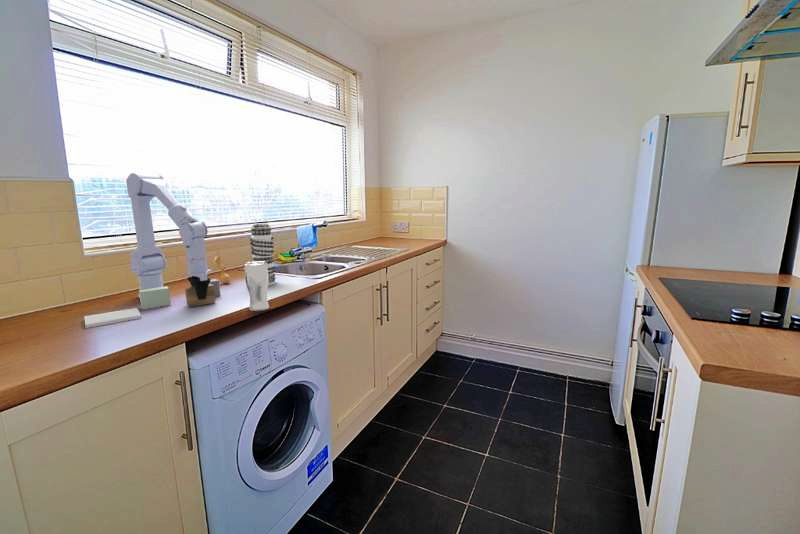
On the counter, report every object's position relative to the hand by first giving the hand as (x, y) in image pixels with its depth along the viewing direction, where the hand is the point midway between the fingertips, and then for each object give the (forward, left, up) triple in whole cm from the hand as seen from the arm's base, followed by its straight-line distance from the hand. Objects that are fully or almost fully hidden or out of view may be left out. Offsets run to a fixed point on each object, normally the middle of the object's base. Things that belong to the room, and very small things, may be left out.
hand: (200, 298), depth 127 cm
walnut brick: (0, 0, -2) cm, 2 cm away
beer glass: (+18, +13, -2) cm, 22 cm away
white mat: (-1, -24, -2) cm, 24 cm away
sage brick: (-8, -12, -2) cm, 15 cm away
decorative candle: (-16, +28, -2) cm, 32 cm away
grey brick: (-9, +4, -2) cm, 10 cm away
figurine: (-28, +15, -2) cm, 32 cm away
